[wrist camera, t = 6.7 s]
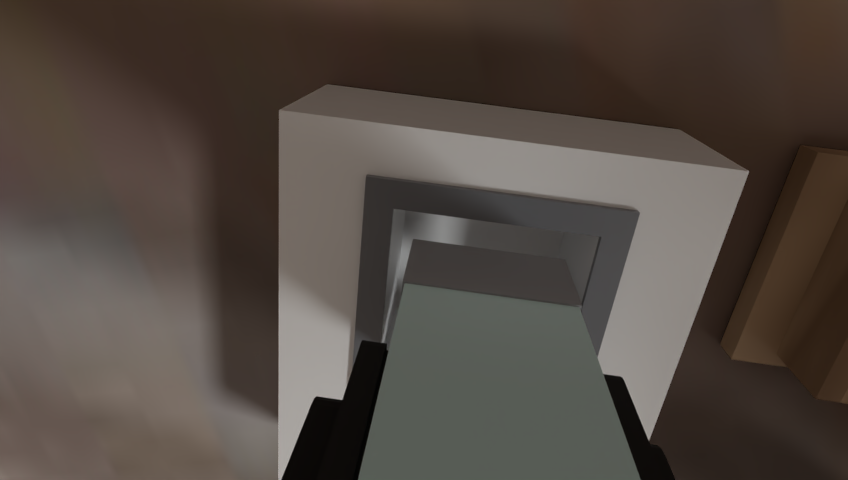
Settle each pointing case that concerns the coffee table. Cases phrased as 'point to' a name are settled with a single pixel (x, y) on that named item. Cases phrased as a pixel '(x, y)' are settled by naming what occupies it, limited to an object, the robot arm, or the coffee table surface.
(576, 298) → the plug
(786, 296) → the square wooden tray
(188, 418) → the coffee table surface
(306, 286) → the panel
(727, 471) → the coffee table surface
